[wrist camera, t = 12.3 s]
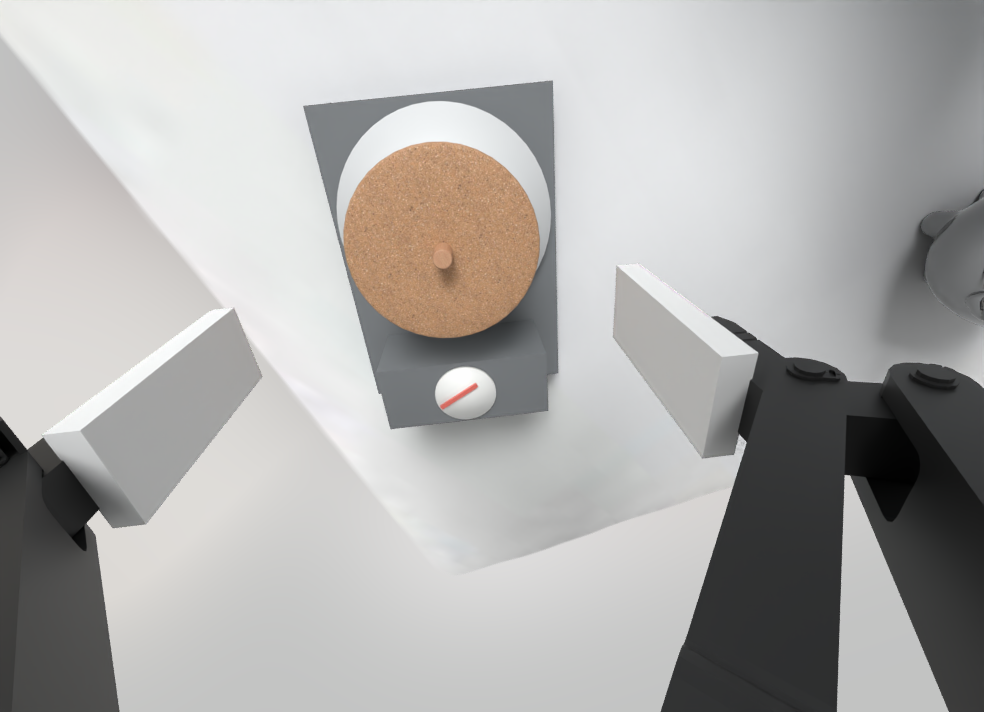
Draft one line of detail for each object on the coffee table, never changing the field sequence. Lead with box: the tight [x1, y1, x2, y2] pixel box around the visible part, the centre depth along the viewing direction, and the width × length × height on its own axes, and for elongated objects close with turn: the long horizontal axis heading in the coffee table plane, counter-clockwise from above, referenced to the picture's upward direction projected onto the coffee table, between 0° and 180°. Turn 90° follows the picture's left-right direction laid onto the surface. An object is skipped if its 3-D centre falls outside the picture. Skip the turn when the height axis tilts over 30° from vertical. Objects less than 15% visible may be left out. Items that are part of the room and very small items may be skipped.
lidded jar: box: [343, 141, 540, 338], centre depth 26 cm, size 11×11×9 cm
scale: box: [303, 81, 558, 429], centre depth 31 cm, size 16×22×9 cm
